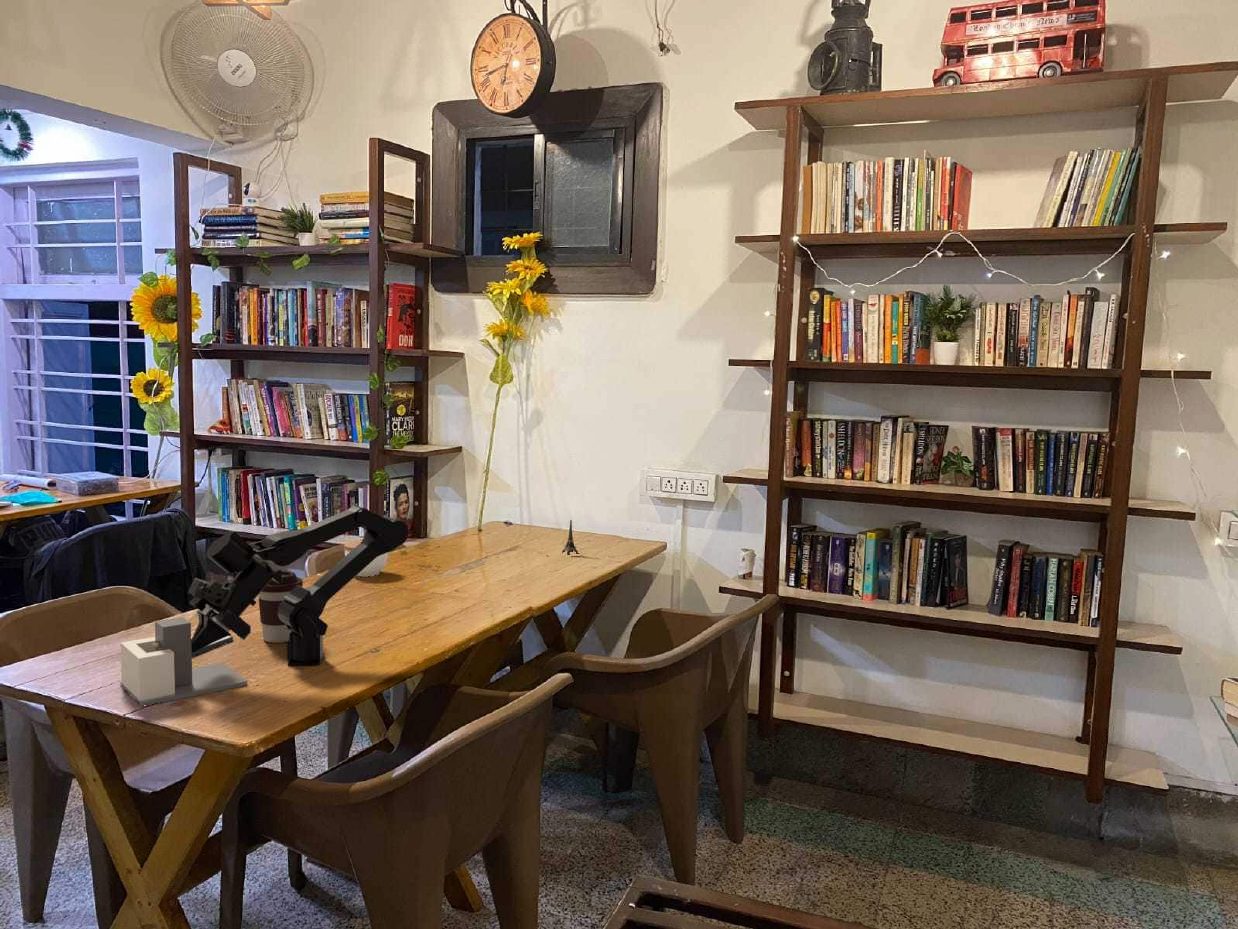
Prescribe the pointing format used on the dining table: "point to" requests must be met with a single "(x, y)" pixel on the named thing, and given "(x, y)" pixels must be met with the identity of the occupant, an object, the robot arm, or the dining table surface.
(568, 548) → the eiffel tower figurine
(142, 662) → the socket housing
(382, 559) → the lidded bowl
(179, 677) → the plug
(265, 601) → the coffee cup
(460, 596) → the dining table surface
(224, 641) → the smartphone
